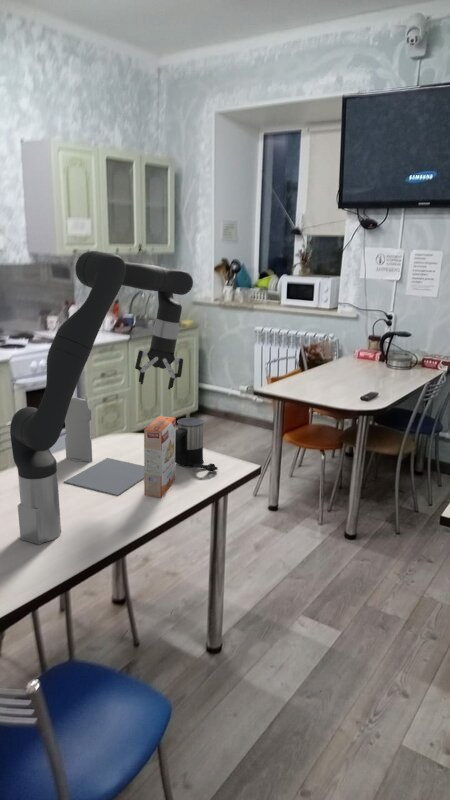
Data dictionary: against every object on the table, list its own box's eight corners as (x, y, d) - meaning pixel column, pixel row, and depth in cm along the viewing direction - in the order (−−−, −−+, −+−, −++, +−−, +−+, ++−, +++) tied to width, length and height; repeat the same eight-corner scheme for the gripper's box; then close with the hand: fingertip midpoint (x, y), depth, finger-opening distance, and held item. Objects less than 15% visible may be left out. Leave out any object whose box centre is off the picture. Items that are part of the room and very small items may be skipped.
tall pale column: (62, 459, 192) (58, 397, 186) (68, 455, 196) (64, 394, 190) (90, 463, 190) (87, 400, 184) (96, 459, 194) (93, 397, 188)
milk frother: (182, 456, 199) (182, 415, 194) (225, 461, 195) (226, 420, 190) (167, 471, 185) (167, 428, 181) (213, 477, 181) (214, 434, 177)
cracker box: (163, 498, 166) (162, 431, 160) (143, 496, 167) (142, 429, 161) (176, 479, 179) (176, 416, 174) (158, 477, 181) (157, 415, 175)
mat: (117, 496, 167) (117, 494, 167) (64, 482, 175) (64, 481, 175) (157, 470, 186) (157, 468, 186) (107, 458, 194) (107, 457, 194)
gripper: (140, 332, 167) (131, 384, 171) (188, 341, 169) (178, 393, 173) (142, 329, 175) (133, 379, 178) (187, 338, 177) (178, 388, 180)
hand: (155, 386), depth 176 cm, fingers open, 8 cm apart
